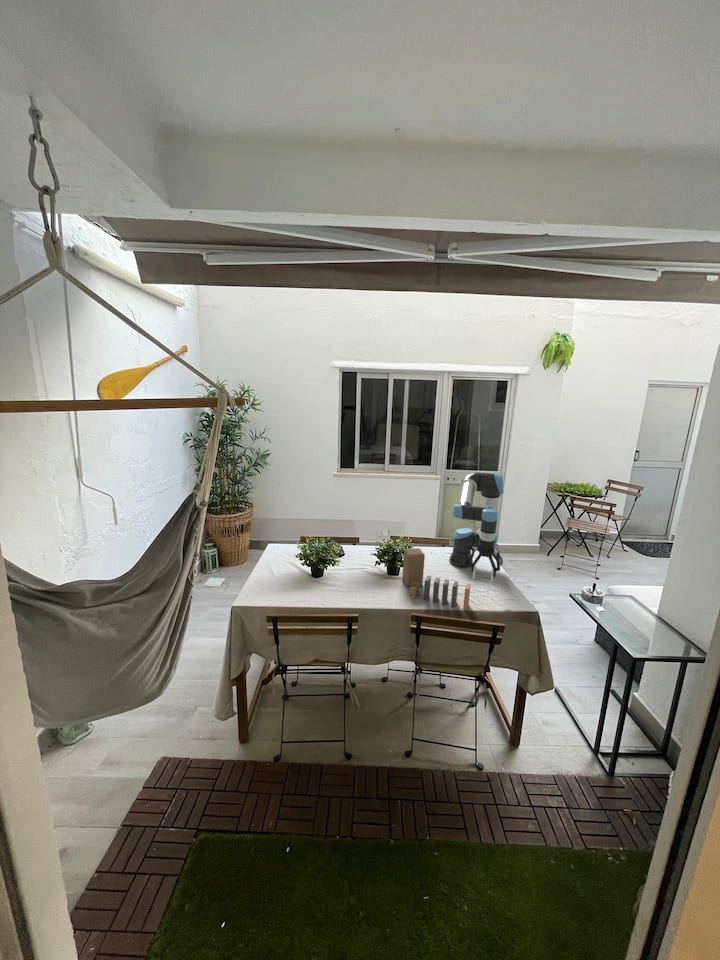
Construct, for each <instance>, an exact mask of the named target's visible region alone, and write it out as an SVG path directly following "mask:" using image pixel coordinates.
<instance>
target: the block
mask: <svg viewBox="0 0 720 960" xmlns="http://www.w3.org/2000/svg"><path fill="white" fill-rule="evenodd" d="M424 570H425V553H424V552H423V551H422V549H421V548H419V547H417V548H416V547H414V548H404V549H403V564H402V580H403V582H404V585H406V586H407V587H411V586H412V584H413V583H414V582H418V583H419V587H420V586H423V583H424Z"/></svg>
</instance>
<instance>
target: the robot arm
mask: <svg viewBox="0 0 720 960" xmlns="http://www.w3.org/2000/svg"><path fill="white" fill-rule="evenodd" d="M460 481H461V482H460V486H459V487H460V495H459V500H458V504H457V503H456V504H454V506H453V511H452V516H453V518H454V519H459V520H467V521H468V520H469V521H477V522H479V528H478V529H477V530H476V532H475V531H474V530H473V529H472V528H469V527H464V528H463V527H462V528H461V527H460V528H458V529H456V530H455V531H454V535H453V545H452V546H453V548H452V552H451V554H450V555H449V561H448V562H449V563H450V565H452V566H455V567H458V568H470V567H471V570H470V572H471V573H472V580H475V578H476V569H477V563H478V562H479V560H480V558H481V557H484V558H488V560H489V562H490V565H491V567H492V569H491V576H490V577H491V578H490V584H493V579H494V578H495V577H496V574H497V572H500V570H501V561H500V553H501V551H500V550H498V551H497V550H496V547H497V543H498V535H497V532H496V531H497V525H498V518H499V515H498V513H499V512H498V510H497V504H498V499H499V498H501V495H502V494H503V495H504V477H503V475H502V474H498V473H489V472H479V471H475V472H472V473H469V474H467V475H465V476H464V477H463V479H462V480H460ZM475 492H480V496H482V503H481V506H474V505H473V504H474V498H475ZM476 552H478V555H477V557H476V558H475V560H474V561H473V559H474V555H475V553H476ZM493 554H494V555H495V558H496V561H494V559H493ZM495 563H496V564H495Z"/></svg>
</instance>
